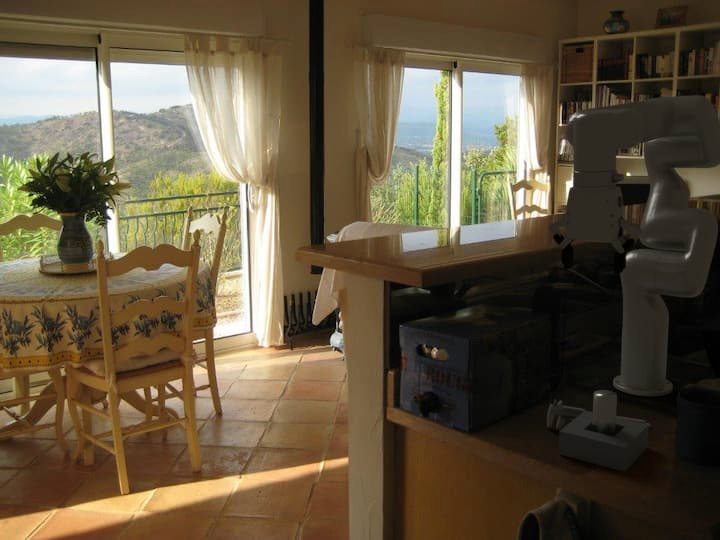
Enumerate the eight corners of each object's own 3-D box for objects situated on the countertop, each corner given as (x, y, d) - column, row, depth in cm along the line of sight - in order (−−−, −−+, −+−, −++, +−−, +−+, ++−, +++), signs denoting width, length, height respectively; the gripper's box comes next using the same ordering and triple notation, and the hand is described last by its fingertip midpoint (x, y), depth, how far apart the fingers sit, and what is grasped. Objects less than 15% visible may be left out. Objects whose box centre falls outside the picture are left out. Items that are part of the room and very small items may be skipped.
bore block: (584, 432, 141) (585, 410, 140) (647, 447, 133) (648, 424, 133) (558, 454, 132) (559, 431, 131) (625, 471, 124) (626, 447, 123)
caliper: (548, 431, 143) (548, 401, 141) (546, 429, 144) (547, 399, 142) (651, 428, 142) (653, 398, 141) (649, 426, 143) (651, 396, 142)
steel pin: (595, 439, 135) (597, 388, 133) (617, 444, 133) (619, 392, 131) (588, 447, 132) (590, 395, 130) (610, 452, 130) (612, 399, 128)
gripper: (648, 178, 131) (646, 270, 135) (557, 177, 141) (557, 262, 145) (635, 183, 125) (633, 279, 129) (541, 181, 136) (541, 270, 139)
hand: (593, 270), depth 137 cm, fingers open, 9 cm apart
